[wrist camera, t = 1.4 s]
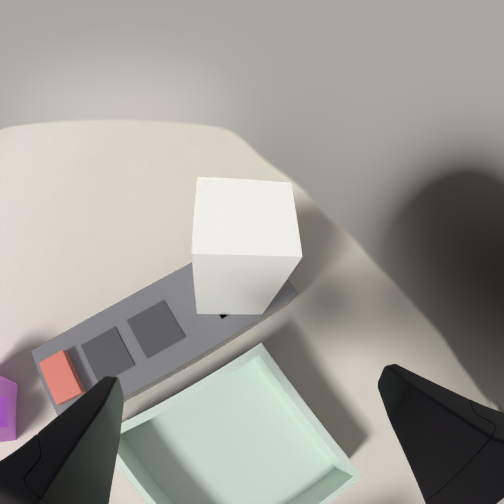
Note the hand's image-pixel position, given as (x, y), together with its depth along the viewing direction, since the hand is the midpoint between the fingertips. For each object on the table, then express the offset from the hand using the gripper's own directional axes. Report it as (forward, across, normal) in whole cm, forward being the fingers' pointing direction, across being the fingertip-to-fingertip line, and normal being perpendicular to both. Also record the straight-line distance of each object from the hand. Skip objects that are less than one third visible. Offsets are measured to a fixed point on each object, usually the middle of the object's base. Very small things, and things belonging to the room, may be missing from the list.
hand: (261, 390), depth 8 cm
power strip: (+12, +5, +6) cm, 15 cm away
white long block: (+14, 0, +3) cm, 14 cm away
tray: (+5, 0, +13) cm, 14 cm away
